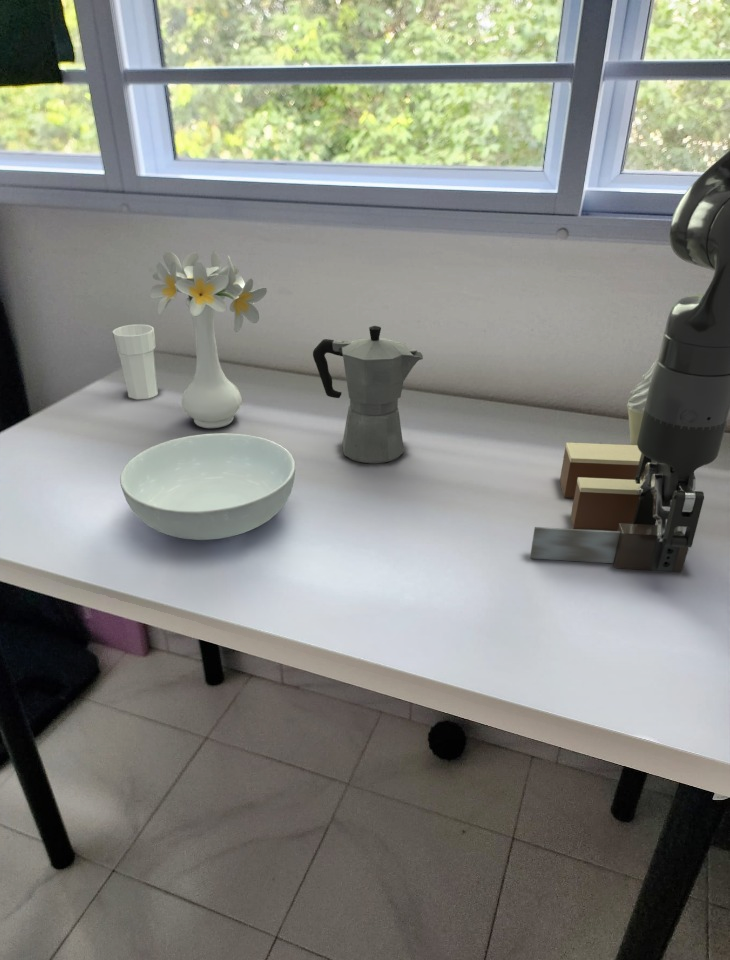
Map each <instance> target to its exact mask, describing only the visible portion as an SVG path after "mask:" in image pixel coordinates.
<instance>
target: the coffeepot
mask: <svg viewBox="0 0 730 960" xmlns="http://www.w3.org/2000/svg"><path fill="white" fill-rule="evenodd" d="M368 331H369V336H370V337H369V338H357V339H355V340H352V341H347V340H341V339H336V340H334V339H330V338H324V339H322V340H321V341H320V342H319V343H318V344H317V345H316V346H315V348H314V349H313V350H312V358H313V360H314V364H315V366H316V369H317V371H318V375H319V377H320V381H321V383H322V386H323V389H324V392H325V394H326V396H327V397H329V398H334V399H340V398H341V396H342V391H337V390H336V389H334V387H333V377H332V375H331V374H330V371H329V364H328V360H327V358H326V354H332V355H334V356H339V357H342V359H343V365H344V371H345V372H344V373H345V379H346V388H347V393H348V398H349V406H348V409H347V414H346V420H345V426H344V431H343V438H342V444H341V445H342V452H343V455H344V456H345V457H347V458H348V459H350V460H351V461H354V462H357V463H362V464H385V463H388V462H392V461H394V460H397V459H398V458H399V457H401V455H402V454H404V453H405V449H404V447H405V446H404V441H403V433H402V425H401V419H400V411H399V407H398V406H399V405H398V403H399V399H400V398H401V397H402V392H403V386H404V382H405V380H406V379H407V377H408V375H409V374H410V372H411V371H412V370H413V368H414V366H415V365H416V364H417V363H418V362H420V361H421V360H423V359H424V355H423V353H422V352H420V351H418V350H417V349H413V348H409V347H408V346H407V344H406V343H405V342H402V341H398V340H393V339H389V338H385V337H380V336H381V331H382V327H381V326H378V325H372V326H369V327H368Z"/></svg>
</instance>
